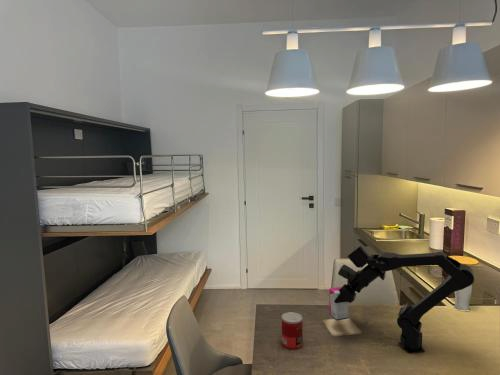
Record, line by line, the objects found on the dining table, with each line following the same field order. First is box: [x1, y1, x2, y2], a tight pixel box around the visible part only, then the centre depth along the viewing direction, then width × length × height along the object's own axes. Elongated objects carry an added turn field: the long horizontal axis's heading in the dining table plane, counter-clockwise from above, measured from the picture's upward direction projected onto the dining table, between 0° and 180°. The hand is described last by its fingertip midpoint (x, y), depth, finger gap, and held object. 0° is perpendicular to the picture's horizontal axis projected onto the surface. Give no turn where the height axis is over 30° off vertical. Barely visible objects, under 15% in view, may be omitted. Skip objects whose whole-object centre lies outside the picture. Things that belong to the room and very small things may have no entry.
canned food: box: [281, 312, 304, 350], centre depth 129 cm, size 8×8×11 cm
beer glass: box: [453, 284, 473, 311], centre depth 154 cm, size 7×7×15 cm
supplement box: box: [328, 286, 350, 321], centre depth 139 cm, size 6×6×12 cm
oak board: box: [321, 317, 362, 337], centre depth 141 cm, size 12×12×1 cm
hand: (337, 298), depth 139 cm, fingers closed on supplement box, 8 cm apart
